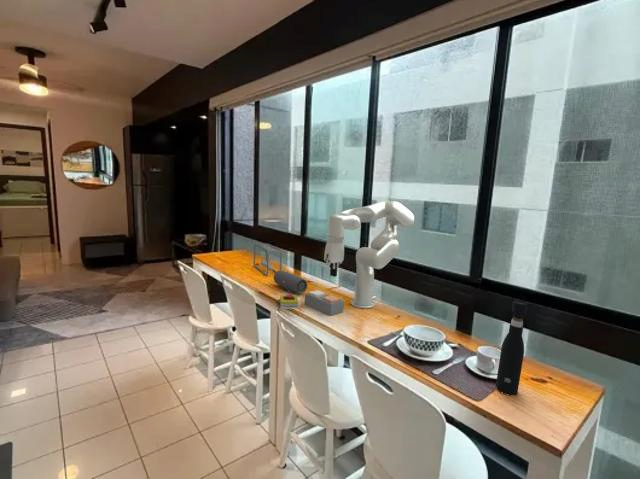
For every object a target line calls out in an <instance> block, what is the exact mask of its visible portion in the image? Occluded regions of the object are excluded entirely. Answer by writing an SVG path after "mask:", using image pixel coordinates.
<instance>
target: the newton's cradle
mask: <svg viewBox="0 0 640 479" xmlns="http://www.w3.org/2000/svg"><path fill="white" fill-rule="evenodd" d="M253 246H254V247H253V267H254V268H255V269H256V270H257V271H259V272H260V273H261V274H263V275H264V277H265V276H266V277H268V276H269V271H273V272H274V273H273V274H272V276H274V275H275V273H276V272H277V271H278V270H275V269H274V266H273V265H272V262H271V261H273V259H274V258H272V259H271V257H270V254H271V256H272V254H273V253H271V251H273V252H280V253H279V254H280V255H279V259H280V260H279V270H281V271H282V262H283V251H282V249H280V248H278V247H277V246H274V245H272V244H270V243H254V245H253ZM257 247H258V248H260V249H261V250H260V251H261V252H262V254H264V256H261V257H262V260H261V261H260V265H256V254H257V253H256V248H257ZM274 256H275V255H274V254H273V256H272V257H274ZM260 267H261V268H262V267H264V268H266V272H264V271H263V270H261V269H260Z"/></svg>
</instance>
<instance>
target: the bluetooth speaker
mask: <svg viewBox="0 0 640 479" xmlns="http://www.w3.org/2000/svg"><path fill="white" fill-rule="evenodd" d="M276 271H277V272H276V273H275V272H274V274H275V275H273V280H274V283H276V284H277V285H279V286H280V287H282V289H284V290H285V291H288V292H289V293H290V292H291V293H299V294H302V293H303V294H304V293H305V292H306V290H307V289H308V282H307V280H306V279H305V278H303V277H300V276H299V275H296V274H294V273H291V272H288V271H286V270H282V269H281V270H280V269H279V270H276Z"/></svg>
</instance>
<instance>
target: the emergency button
mask: <svg viewBox="0 0 640 479" xmlns="http://www.w3.org/2000/svg"><path fill="white" fill-rule="evenodd" d="M279 296H280V299H279V306H280V309H284V310H285V309H286V310H288V309H290V310H291V309H293V310H298V309H300V307H299V300H298V299H299V298H298V295H295V294H281V295H279Z"/></svg>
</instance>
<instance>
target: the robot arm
mask: <svg viewBox="0 0 640 479" xmlns="http://www.w3.org/2000/svg"><path fill="white" fill-rule="evenodd" d="M382 218H385V227H384V228H383V230H382V231H381V232H380V233H379V234H377V236H376V237H374V238H373V239H372V240H371V242H370V247H367V246H363V247H360V248H359V249H357V251H356V253H355V262H356V263H355V264H356V273H355V283H354V284H355V285H354V298H353V299H352V300H351V301H350V304H351V305H352V306H353V307H355V308H358V309H372V308H374V307H375V303H374V300H376V299H377V295H373V292H374V280H375V270H382V269H383V268H384V267H386V266H387V265H388V264H389V263H390V262H391V260H393V259H394V258H395V257H396V256H397V254H398V253H399V250H400V243H399V241H398V240H397V238H398V227H401V228H411V227H412V226H413V225H414V223H415V215H414V213H412V212H411V210H409V209H408V208H407V207H406V206H404V205H403V204H402V203H401V202H398V201H394V200H381V201H378V202H375V203H373V204H370V205H366V206H361V207H360V206H359V207H356V208H351V209H347V210H344V211H340V212H339V213H337V214H336V213H334V214H330V215H329V218H328V233H327V235H328V236H327V238H328V239H327V242H326V243H325V249H324V254H323V255H324V256H323V260H324V262H325V265H326V266H328V267H329V268H330V270H329V271H330V272H329V273H330V274H329V275H330V276H331V277H334V278H335V277H337V276H338V269H339V266H340V265H341V264H343V261H344V258H345V244H344V239H345V237H344V236H345V230H350V231H353V230H356V229H358V228H359V227H360V225H361V223H372V222H375V221H378V220H379V219H382ZM374 269H375V270H374Z"/></svg>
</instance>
